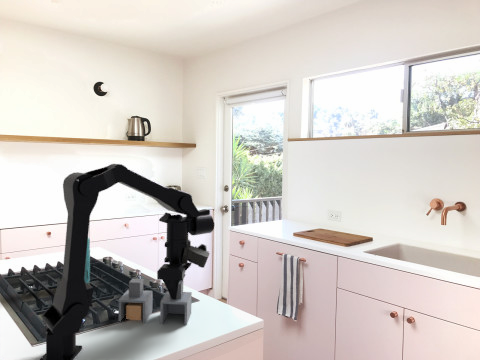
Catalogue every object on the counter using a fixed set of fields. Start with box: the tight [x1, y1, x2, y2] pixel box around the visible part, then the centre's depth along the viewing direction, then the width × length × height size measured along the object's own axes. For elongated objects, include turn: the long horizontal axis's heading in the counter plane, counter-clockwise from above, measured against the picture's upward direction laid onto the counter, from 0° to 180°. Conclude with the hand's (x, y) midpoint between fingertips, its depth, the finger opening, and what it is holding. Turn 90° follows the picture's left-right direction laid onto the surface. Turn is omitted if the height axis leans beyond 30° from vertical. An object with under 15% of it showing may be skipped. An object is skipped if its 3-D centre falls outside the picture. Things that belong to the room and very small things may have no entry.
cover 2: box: [159, 279, 193, 326], centre depth 98 cm, size 7×7×10 cm
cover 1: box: [118, 278, 153, 324], centre depth 98 cm, size 7×7×10 cm
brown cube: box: [125, 302, 143, 321], centre depth 99 cm, size 4×4×4 cm
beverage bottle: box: [85, 237, 91, 284], centre depth 119 cm, size 6×7×20 cm
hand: (176, 294), depth 98 cm, fingers open, 6 cm apart
